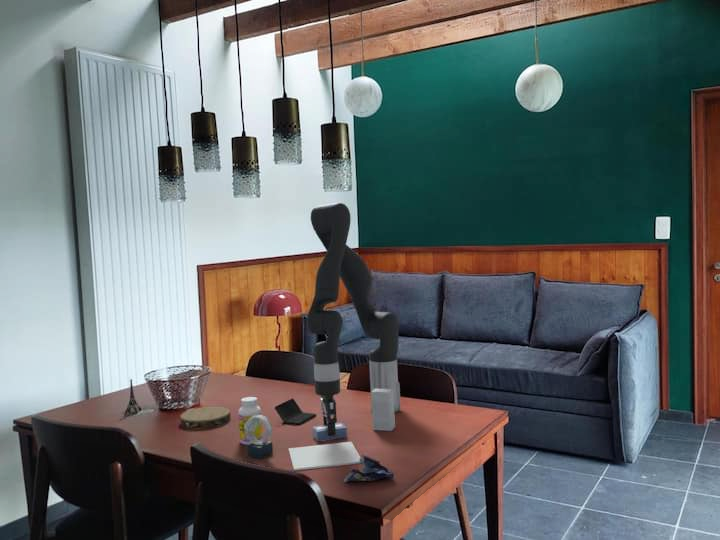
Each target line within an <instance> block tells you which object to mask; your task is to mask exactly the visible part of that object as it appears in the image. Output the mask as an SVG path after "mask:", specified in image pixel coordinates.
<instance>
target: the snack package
mask: <svg viewBox="0 0 720 540" xmlns="http://www.w3.org/2000/svg"><path fill="white" fill-rule="evenodd" d="M360 457H361V458H360V460H359V461H360V463H359V464H360V465H361V466H363V468H362V469H355V468H354V469H351V471H350V472H349V474H348V475H347V476H346V477H344V478H343V479H342V480H343V482H344V483H347V482H350V481H351V482H352V481H353V482H354V481H355V482H356V481H357V482H359V481H361V482H368V481H369V482H372V481H376V480H377V481H378V480H380V479H383V478H390V479H393V478H394V475H395V473H393V472H392V471H389V469H388V468H387V467H385V466H384V465H382V464H381V463H380V461H379V460H378V459H375V458H373V457H370V456H367V455H364V454H362V455H361V456H360Z"/></svg>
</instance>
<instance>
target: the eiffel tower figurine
mask: <svg viewBox="0 0 720 540" xmlns="http://www.w3.org/2000/svg"><path fill="white" fill-rule="evenodd" d="M129 383H130V385H129V386H130V393H129V401H128V404H127V407H126V409H125V410H124V413H123V415H124V416H125V415H131V418H134V417H137V416H141V415H145V414H150V413H152V412H153V411H154V408H151V406H150V405H145V407H147V408H148V409H143V408H142V407H141V406H140V405H139V403H138V402H137V400H136V397H135V393H134V388H133V387H134V386H133V379H132V378H130V379H129ZM132 415H133V416H132ZM129 418H130V417H129V416H128V417H120V418H118V419H117V420H125V419H129Z"/></svg>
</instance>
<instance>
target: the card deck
mask: <svg viewBox="0 0 720 540" xmlns="http://www.w3.org/2000/svg"><path fill="white" fill-rule="evenodd" d="M335 430H336V435H335V436H328V427H327V425H324V424H323V425H317V426H316V425H315V426H312V437H313V436H314V437H313V438H314V439H315V440H316V442H323V441H322V440H325V441H330V440H329V439H331V440H336V438H338V439H343V438H342V437H344V438H348V432H347V431H348V428H347V426H346V425H345V424H343V423H342V422H336V423H335Z"/></svg>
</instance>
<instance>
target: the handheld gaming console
mask: <svg viewBox="0 0 720 540" xmlns="http://www.w3.org/2000/svg"><path fill="white" fill-rule="evenodd" d="M274 410H275V411H276V413H277V414H278V416H279V417H280V420H282V421H283V424H284V425H290V424H294V425H293V426H298V425H299V426H301V425H303V424H305V423H306V421H307V422H308V421H310V420H312V419H314V418H316V417H317V413H311V412H303V411H302V409H301V408H300V407H299V405H298V404H297V402H296V400H295V399H294V398H290V399H288V400H286V401H284V402H282V403H279V404H278V405H276V406H275V407H274ZM315 416H316V417H315ZM313 417H314V418H313ZM309 419H310V420H309ZM304 422H305V423H304ZM302 423H303V424H302ZM300 424H301V425H300Z"/></svg>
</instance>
